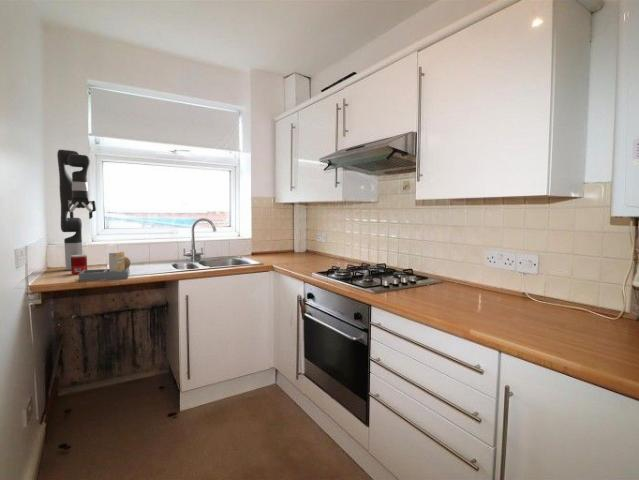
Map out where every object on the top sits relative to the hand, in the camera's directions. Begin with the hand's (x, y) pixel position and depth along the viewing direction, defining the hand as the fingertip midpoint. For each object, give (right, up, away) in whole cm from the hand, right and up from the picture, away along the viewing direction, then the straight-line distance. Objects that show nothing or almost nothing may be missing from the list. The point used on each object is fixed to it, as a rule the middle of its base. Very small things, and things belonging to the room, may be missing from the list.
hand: (81, 218), depth 201 cm
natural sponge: (+15, -32, +16) cm, 39 cm away
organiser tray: (+15, -33, -2) cm, 37 cm away
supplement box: (+20, -32, +1) cm, 38 cm away
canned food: (-8, -33, +11) cm, 35 cm away
